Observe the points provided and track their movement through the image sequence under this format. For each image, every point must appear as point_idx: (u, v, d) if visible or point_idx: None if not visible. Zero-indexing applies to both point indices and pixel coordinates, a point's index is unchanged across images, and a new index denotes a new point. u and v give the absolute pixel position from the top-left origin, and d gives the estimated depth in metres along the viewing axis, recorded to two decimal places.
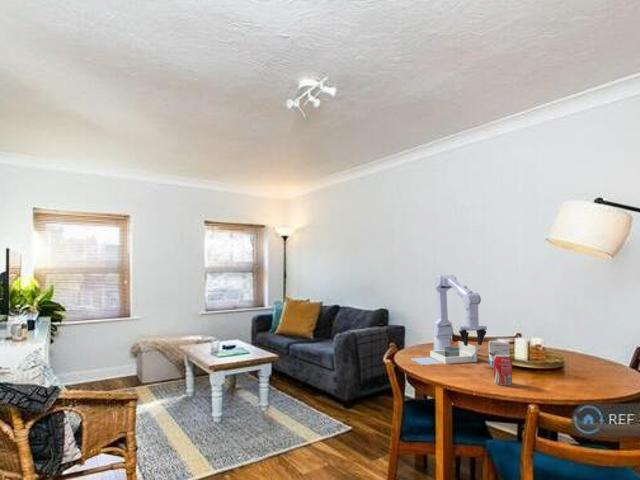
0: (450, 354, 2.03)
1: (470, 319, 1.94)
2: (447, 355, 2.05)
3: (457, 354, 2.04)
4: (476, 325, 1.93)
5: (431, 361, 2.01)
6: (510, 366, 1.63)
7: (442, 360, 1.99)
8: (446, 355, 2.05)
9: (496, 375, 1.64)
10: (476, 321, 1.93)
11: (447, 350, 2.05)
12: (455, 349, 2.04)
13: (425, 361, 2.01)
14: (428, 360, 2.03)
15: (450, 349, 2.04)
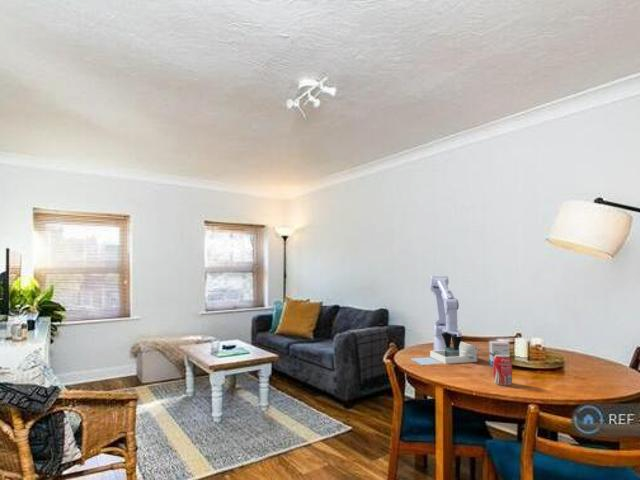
0: (450, 354, 2.03)
1: None
2: (447, 355, 2.05)
3: (457, 354, 2.04)
4: (447, 329, 2.05)
5: (431, 361, 2.01)
6: (510, 366, 1.63)
7: (442, 360, 1.99)
8: (446, 355, 2.05)
9: (496, 375, 1.64)
10: (447, 325, 2.05)
11: (447, 350, 2.05)
12: None
13: (425, 361, 2.01)
14: (428, 360, 2.03)
15: (450, 349, 2.04)
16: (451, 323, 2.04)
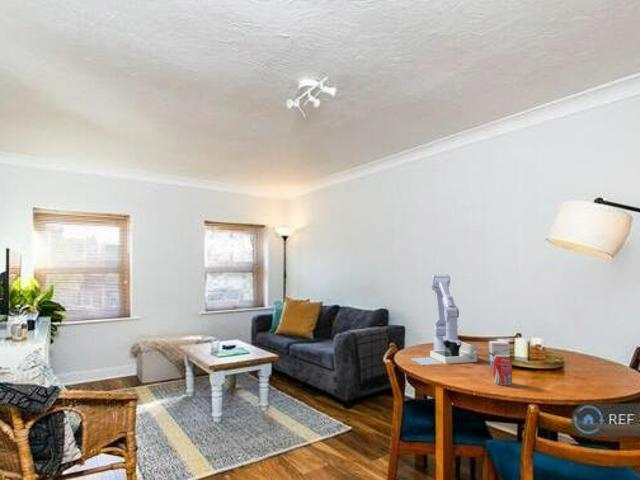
0: (450, 354, 2.03)
1: None
2: (447, 355, 2.05)
3: (457, 354, 2.04)
4: (447, 337, 2.05)
5: (431, 361, 2.01)
6: (510, 366, 1.63)
7: (442, 360, 1.99)
8: (446, 355, 2.05)
9: (496, 375, 1.64)
10: (447, 333, 2.05)
11: (447, 350, 2.05)
12: None
13: (425, 361, 2.01)
14: (428, 360, 2.03)
15: (450, 349, 2.04)
16: (451, 331, 2.04)
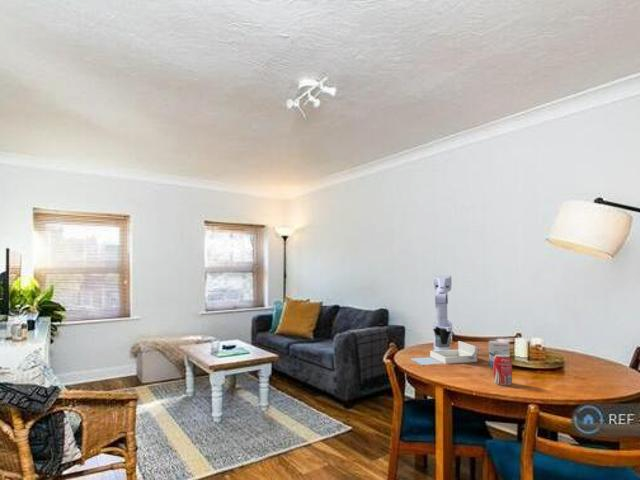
0: (440, 341, 2.02)
1: None
2: (437, 342, 2.03)
3: (447, 341, 2.03)
4: (437, 323, 2.04)
5: (431, 361, 2.01)
6: (510, 366, 1.63)
7: (442, 360, 1.99)
8: (436, 342, 2.04)
9: (496, 375, 1.64)
10: (437, 320, 2.04)
11: (437, 337, 2.03)
12: None
13: (425, 361, 2.01)
14: (428, 360, 2.03)
15: (440, 336, 2.02)
16: (441, 318, 2.03)
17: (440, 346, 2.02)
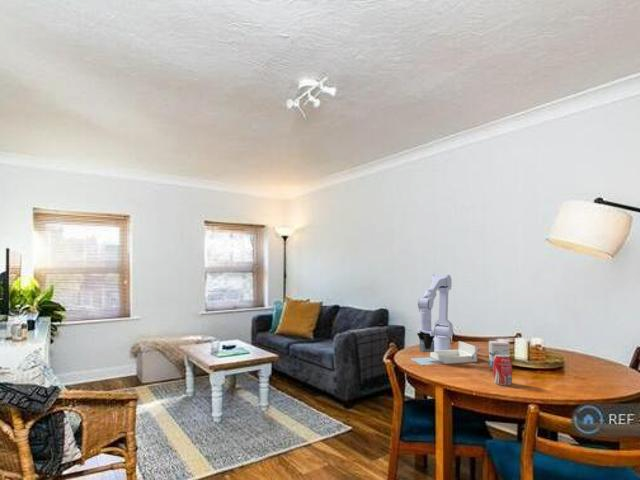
0: (424, 346, 2.00)
1: None
2: (421, 347, 2.01)
3: (432, 346, 2.01)
4: (421, 328, 2.02)
5: (431, 361, 2.01)
6: (510, 366, 1.63)
7: (442, 360, 1.99)
8: (421, 347, 2.02)
9: (496, 375, 1.64)
10: (421, 324, 2.02)
11: (421, 342, 2.01)
12: None
13: (425, 361, 2.01)
14: (428, 360, 2.03)
15: (424, 341, 2.00)
16: (425, 322, 2.01)
17: (424, 351, 2.00)
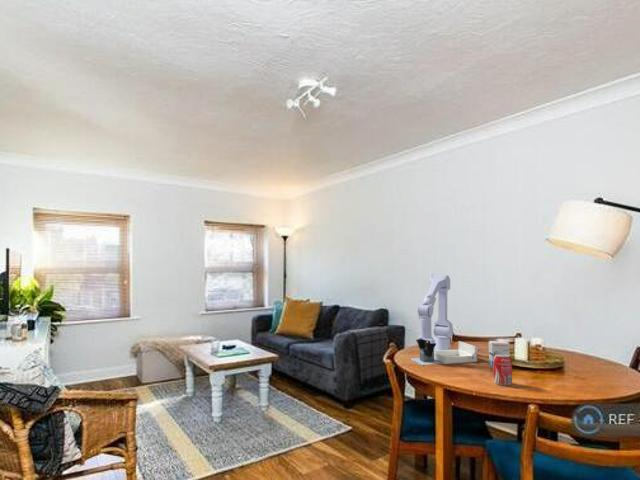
0: (424, 356, 2.00)
1: None
2: (422, 357, 2.01)
3: (432, 356, 2.01)
4: (421, 335, 2.02)
5: None
6: (510, 366, 1.63)
7: (442, 360, 1.99)
8: (421, 357, 2.02)
9: (496, 375, 1.64)
10: (421, 331, 2.02)
11: (422, 351, 2.01)
12: None
13: None
14: None
15: (424, 350, 2.00)
16: (425, 329, 2.00)
17: (424, 360, 2.00)
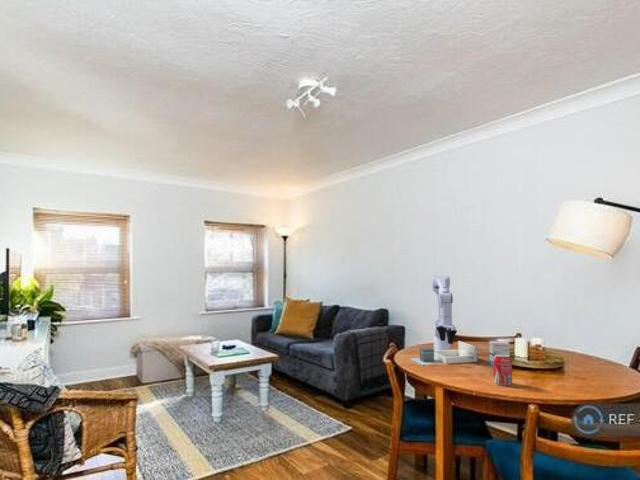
0: (424, 356, 2.00)
1: None
2: (422, 357, 2.01)
3: (432, 356, 2.01)
4: (441, 322, 2.06)
5: None
6: (510, 366, 1.63)
7: (442, 360, 1.99)
8: (421, 357, 2.02)
9: (496, 375, 1.64)
10: (441, 319, 2.06)
11: (422, 351, 2.01)
12: (430, 350, 2.01)
13: None
14: None
15: (424, 350, 2.00)
16: (445, 317, 2.04)
17: (424, 360, 2.00)
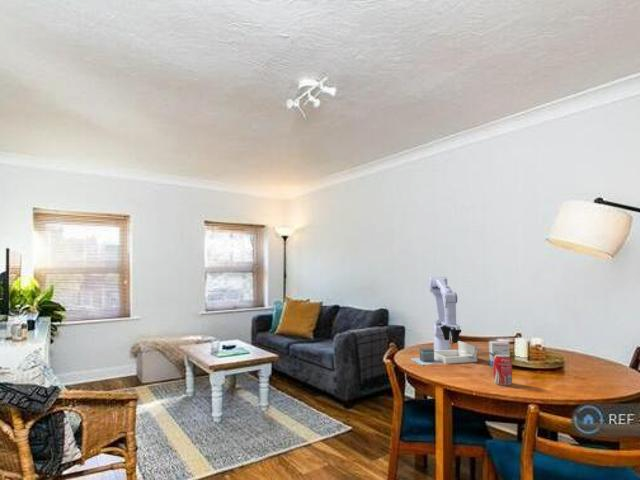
0: (424, 356, 2.00)
1: None
2: (422, 357, 2.01)
3: (432, 356, 2.01)
4: (446, 322, 2.07)
5: None
6: (510, 366, 1.63)
7: (442, 360, 1.99)
8: (421, 357, 2.02)
9: (496, 375, 1.64)
10: (446, 318, 2.07)
11: (422, 351, 2.01)
12: (430, 350, 2.01)
13: None
14: None
15: (424, 350, 2.00)
16: (450, 316, 2.05)
17: (424, 360, 2.00)
